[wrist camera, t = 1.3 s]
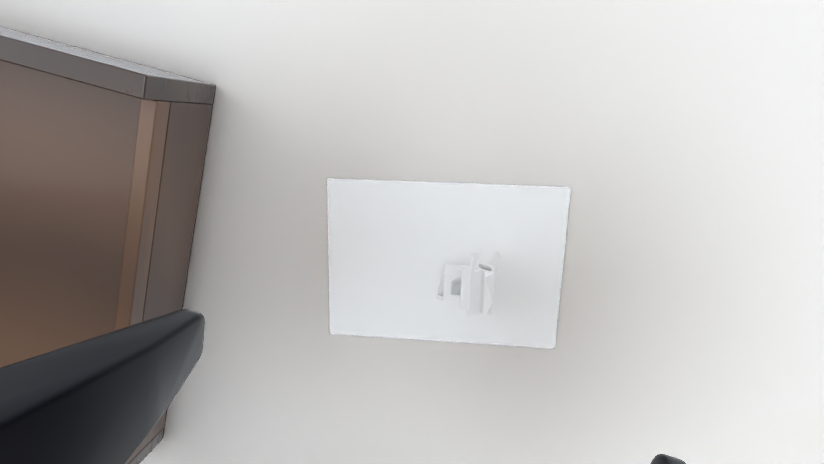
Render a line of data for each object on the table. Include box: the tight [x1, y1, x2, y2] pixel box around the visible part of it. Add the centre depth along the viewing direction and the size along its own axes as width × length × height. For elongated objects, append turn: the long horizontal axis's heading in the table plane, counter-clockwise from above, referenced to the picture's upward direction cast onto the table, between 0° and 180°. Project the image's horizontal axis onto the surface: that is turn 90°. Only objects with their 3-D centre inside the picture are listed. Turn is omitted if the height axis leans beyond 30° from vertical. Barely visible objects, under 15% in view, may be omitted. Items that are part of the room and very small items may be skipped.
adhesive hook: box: [436, 247, 502, 323], centre depth 19 cm, size 3×3×3 cm
